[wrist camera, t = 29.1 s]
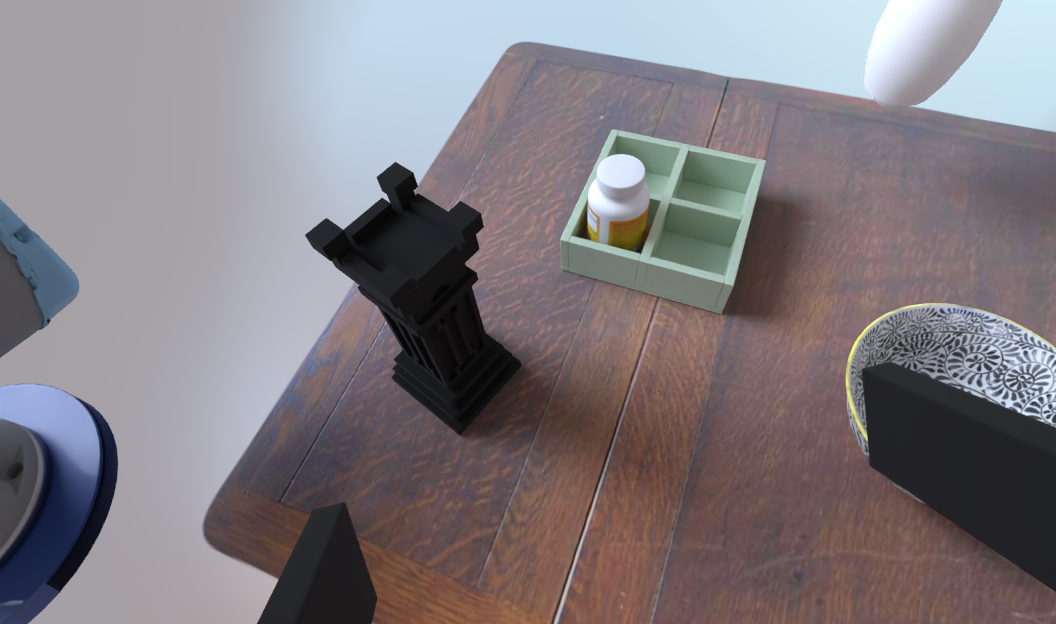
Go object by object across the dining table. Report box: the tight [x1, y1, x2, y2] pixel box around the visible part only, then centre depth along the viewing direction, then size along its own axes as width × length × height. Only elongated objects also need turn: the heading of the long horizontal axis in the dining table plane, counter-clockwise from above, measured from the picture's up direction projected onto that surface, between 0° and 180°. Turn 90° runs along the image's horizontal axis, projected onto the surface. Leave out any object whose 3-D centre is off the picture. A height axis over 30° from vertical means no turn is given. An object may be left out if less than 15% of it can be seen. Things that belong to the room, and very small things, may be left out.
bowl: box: [846, 303, 1056, 506], centre depth 39 cm, size 16×16×8 cm
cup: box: [864, 0, 1002, 108], centre depth 48 cm, size 7×7×21 cm
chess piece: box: [305, 162, 521, 435], centre depth 40 cm, size 8×8×20 cm
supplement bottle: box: [587, 154, 650, 253], centre depth 49 cm, size 5×5×10 cm
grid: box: [560, 129, 766, 314], centre depth 53 cm, size 15×15×5 cm
